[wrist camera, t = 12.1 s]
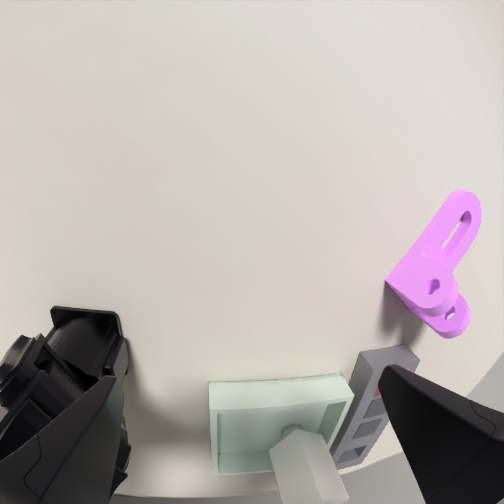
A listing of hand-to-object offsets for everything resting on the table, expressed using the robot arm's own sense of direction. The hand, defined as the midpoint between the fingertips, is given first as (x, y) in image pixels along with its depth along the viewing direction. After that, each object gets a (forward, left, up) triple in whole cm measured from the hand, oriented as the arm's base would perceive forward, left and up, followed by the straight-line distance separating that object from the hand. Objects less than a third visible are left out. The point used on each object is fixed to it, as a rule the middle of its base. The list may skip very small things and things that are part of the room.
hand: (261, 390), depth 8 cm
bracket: (+20, +2, -13) cm, 24 cm away
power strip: (+16, -20, -13) cm, 28 cm away
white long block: (+7, -20, -12) cm, 25 cm away
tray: (+5, -19, -13) cm, 23 cm away
